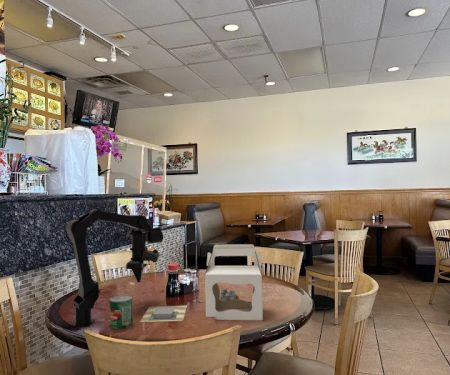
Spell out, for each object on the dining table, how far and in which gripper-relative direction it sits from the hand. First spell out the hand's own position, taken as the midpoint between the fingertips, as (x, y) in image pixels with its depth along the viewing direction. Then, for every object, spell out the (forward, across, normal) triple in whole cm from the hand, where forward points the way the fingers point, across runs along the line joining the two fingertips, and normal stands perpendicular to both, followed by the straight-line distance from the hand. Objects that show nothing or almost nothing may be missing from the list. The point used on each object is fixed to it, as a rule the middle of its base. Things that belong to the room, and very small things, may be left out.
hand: (139, 282), depth 148 cm
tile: (+10, -7, -12) cm, 17 cm away
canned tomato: (+12, -20, +2) cm, 23 cm away
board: (+12, -8, -12) cm, 19 cm away
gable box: (+12, -8, -40) cm, 42 cm away
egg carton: (+12, +14, -38) cm, 42 cm away
